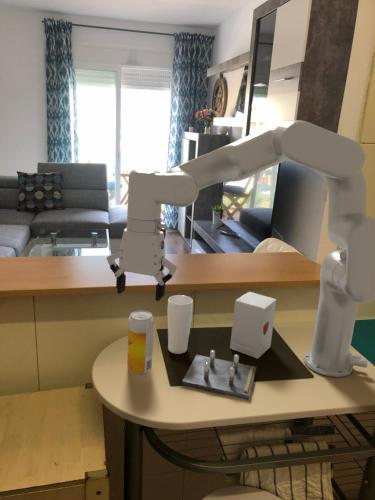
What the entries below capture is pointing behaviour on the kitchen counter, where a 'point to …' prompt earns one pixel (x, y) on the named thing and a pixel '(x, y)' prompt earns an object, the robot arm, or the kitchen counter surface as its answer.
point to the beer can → (140, 342)
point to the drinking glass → (179, 322)
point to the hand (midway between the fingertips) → (139, 295)
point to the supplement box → (253, 324)
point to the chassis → (220, 376)
